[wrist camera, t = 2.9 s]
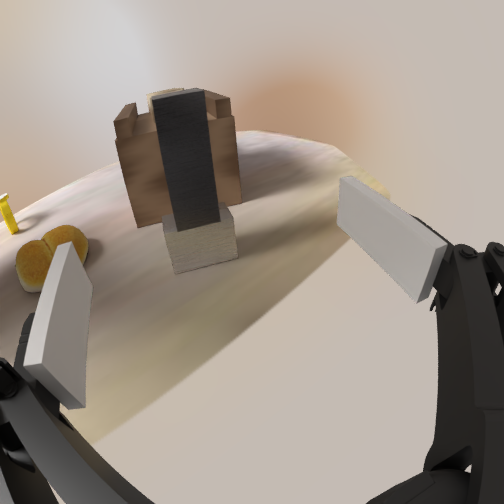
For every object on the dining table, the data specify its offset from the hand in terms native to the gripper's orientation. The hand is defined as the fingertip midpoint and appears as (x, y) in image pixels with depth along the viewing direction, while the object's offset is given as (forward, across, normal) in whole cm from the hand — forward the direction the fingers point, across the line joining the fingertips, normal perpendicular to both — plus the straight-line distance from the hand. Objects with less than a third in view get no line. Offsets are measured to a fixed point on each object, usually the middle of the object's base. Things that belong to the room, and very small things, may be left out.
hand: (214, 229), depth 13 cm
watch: (+29, -28, -8) cm, 41 cm away
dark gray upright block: (+10, 0, -8) cm, 13 cm away
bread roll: (+15, -16, -9) cm, 24 cm away
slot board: (+26, 0, -8) cm, 27 cm away
